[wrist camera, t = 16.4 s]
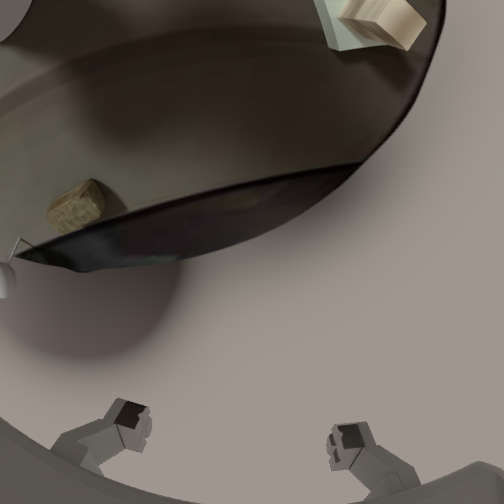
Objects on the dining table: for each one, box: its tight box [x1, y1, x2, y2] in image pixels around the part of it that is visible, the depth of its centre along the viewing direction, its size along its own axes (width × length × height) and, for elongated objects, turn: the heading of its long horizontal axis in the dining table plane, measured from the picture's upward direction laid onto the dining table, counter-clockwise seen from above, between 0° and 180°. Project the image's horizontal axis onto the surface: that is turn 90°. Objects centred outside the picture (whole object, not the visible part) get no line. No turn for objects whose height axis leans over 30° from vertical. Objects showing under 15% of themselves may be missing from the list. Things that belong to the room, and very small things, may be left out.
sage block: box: [314, 0, 387, 51], centre depth 23 cm, size 9×9×4 cm
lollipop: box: [0, 238, 21, 298], centre depth 38 cm, size 7×7×15 cm
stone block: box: [46, 179, 106, 235], centre depth 39 cm, size 6×12×5 cm, turn 105°
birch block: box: [337, 0, 426, 51], centre depth 19 cm, size 5×5×9 cm
